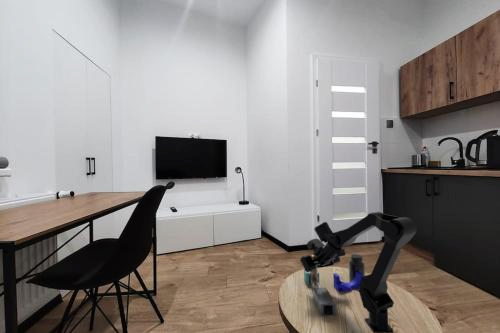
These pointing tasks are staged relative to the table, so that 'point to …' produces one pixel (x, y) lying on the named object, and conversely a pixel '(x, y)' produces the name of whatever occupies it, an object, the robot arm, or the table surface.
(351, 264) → the supplement bottle
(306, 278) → the teal block with slot
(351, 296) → the table surface
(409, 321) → the table surface
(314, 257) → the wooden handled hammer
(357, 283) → the cable clip
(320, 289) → the gray rectangular tube
